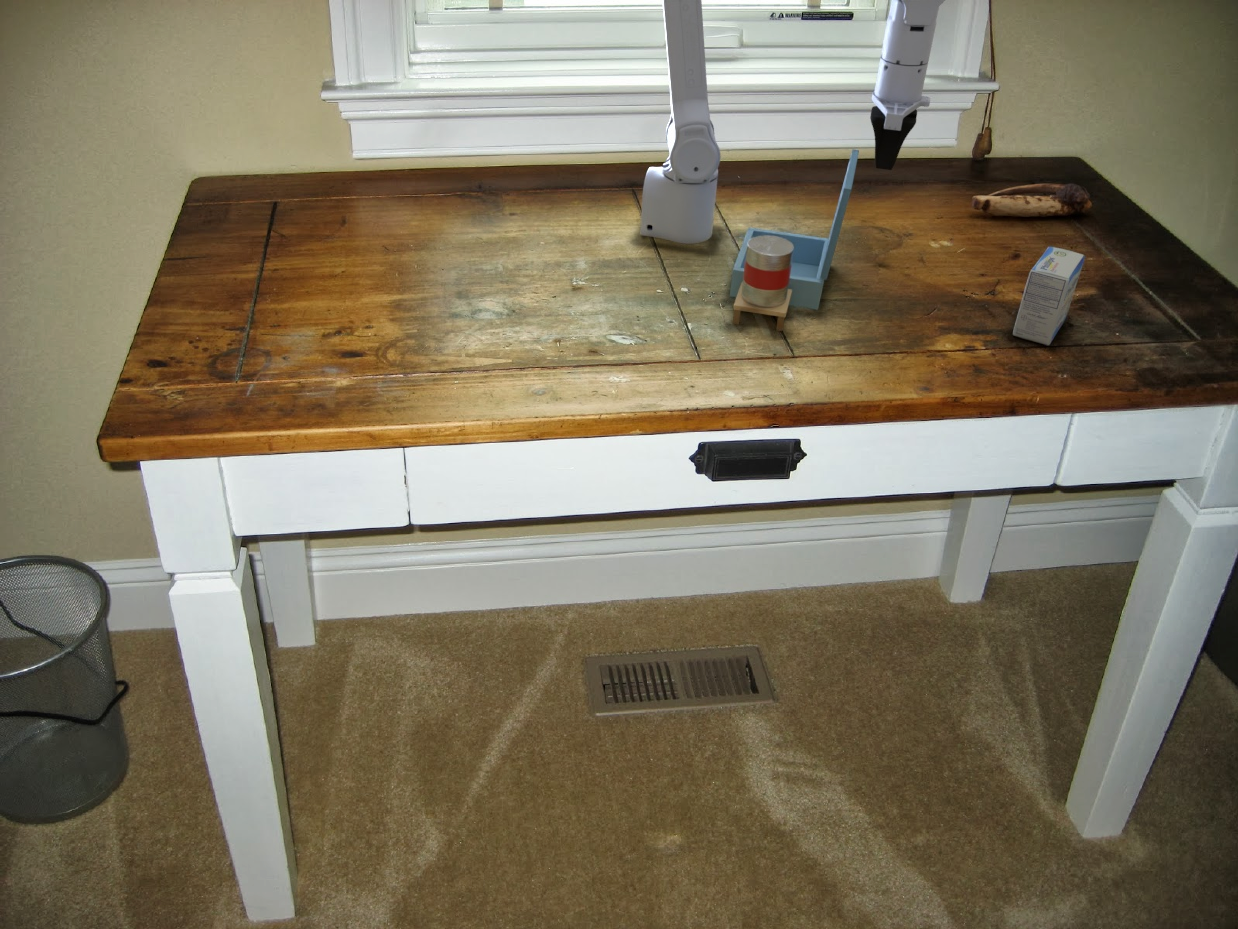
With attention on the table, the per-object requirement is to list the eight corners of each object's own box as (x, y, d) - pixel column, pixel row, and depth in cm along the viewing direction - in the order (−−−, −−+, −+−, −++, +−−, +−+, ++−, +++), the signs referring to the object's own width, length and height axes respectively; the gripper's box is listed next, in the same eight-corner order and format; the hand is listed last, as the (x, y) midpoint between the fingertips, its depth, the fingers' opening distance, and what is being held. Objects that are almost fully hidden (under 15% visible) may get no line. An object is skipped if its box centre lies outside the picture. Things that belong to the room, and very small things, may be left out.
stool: (730, 329, 124) (733, 304, 122) (738, 305, 129) (741, 281, 127) (782, 337, 123) (786, 312, 121) (788, 313, 128) (792, 289, 126)
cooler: (728, 301, 129) (732, 269, 127) (744, 257, 139) (748, 226, 137) (816, 315, 128) (822, 282, 125) (826, 269, 137) (832, 238, 135)
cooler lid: (844, 187, 118) (851, 189, 118) (852, 148, 128) (859, 150, 128) (819, 278, 125) (826, 280, 125) (829, 234, 135) (835, 236, 135)
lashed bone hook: (1065, 200, 161) (951, 198, 158) (1075, 169, 158) (959, 167, 155) (1096, 224, 153) (977, 223, 150) (1106, 192, 150) (985, 190, 148)
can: (737, 303, 122) (744, 251, 118) (744, 283, 126) (751, 232, 123) (783, 310, 121) (791, 258, 118) (789, 290, 126) (796, 238, 122)
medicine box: (1048, 347, 124) (1070, 279, 119) (1010, 336, 125) (1030, 268, 120) (1065, 320, 129) (1087, 254, 124) (1028, 309, 131) (1048, 244, 126)
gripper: (937, 80, 124) (913, 192, 132) (938, 46, 135) (916, 151, 143) (875, 73, 125) (856, 184, 133) (881, 40, 137) (863, 145, 145)
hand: (883, 167), depth 138 cm, fingers closed
